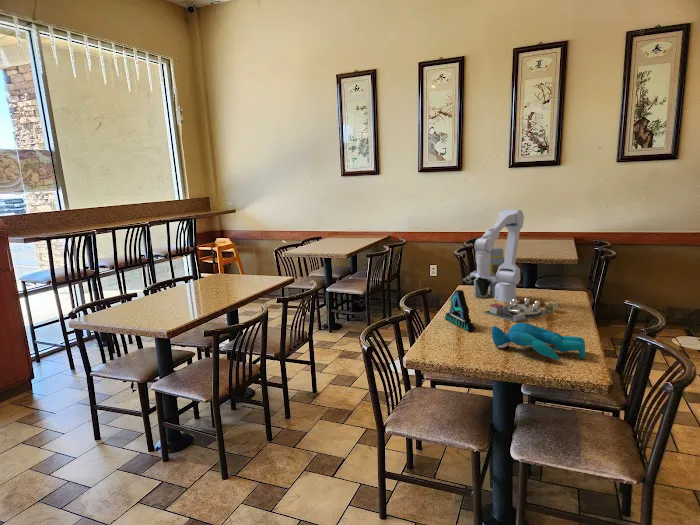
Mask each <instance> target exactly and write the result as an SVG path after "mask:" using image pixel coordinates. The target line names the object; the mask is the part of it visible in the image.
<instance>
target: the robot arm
mask: <svg viewBox="0 0 700 525" xmlns="http://www.w3.org/2000/svg"><path fill="white" fill-rule="evenodd" d="M497 215H498V216H497V220H496V222H495V223H494V225H493V226H491V227H488V228H487V230H486V231H485V232H484V233H483V234H482V236H481V237H479V238H477V239H476V240H475V241H474V246H473V247H474V248H473V249H474V250H475V255H477V264H476V271H477V273H474V272H473V271H472V272H470V274H469V275H470V277H471V278H475V279H476V278H478V280H476V283H477V285H478V287H479V290H480V294H481V295H482V296H484V295H486V294H487V290H488V287H489V288H490V283H491V282H492V281H493V282H499V283H497V284H496V286H495V297H494V299H495V300H497V301H499V302H502V303H509V304H510V302H512V299H517V285H518V284H519V283H520V281H521V268H519V266H518V265H517V264H516V262H517V254H518V246H519V239H520V233H521V230H522V228H524V227H523V225H524V221H525V219H524V218H525V215H524V212H523V211H522V210H521V209H501V210H500V211H499V213H498V214H497ZM503 228H506V229H507V230H508V232H507V237H506V238H507V239H506V245H505V253H504V258H503V264H501V265H498V269H497V271H496V273H495V274H496V277H495V276H492V275H490V251H492V249H493V247H495V242H496V241H497V239H499V237H500V234H501V233H500V232H501V231H502V230H503ZM520 302H521V301H520V300H518V299H517V304H519V303H520Z"/></svg>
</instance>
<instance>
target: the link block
mask: <svg viewBox="0 0 700 525" xmlns="http://www.w3.org/2000/svg"><path fill="white" fill-rule="evenodd" d="M544 310H546V311H549V312H553V313H552V314H554V312H555V313H558V312H559V310H560V302H556V301H553V300H550V301H549V300H548V301H545V302H544ZM557 311H558V312H557Z"/></svg>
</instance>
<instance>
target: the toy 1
mask: <svg viewBox="0 0 700 525" xmlns="http://www.w3.org/2000/svg"><path fill="white" fill-rule="evenodd" d="M474 257H475V263H476V265H477V255H476V254H475V255H474ZM504 258H505V254H504V248H502V247H500V246H493V249H492V251H490V275H492V276H495V277H496V273H495V272H493V270H494V266H500V265H502V264H503V263H504ZM473 272H474V273H477V269H476V270H473V271H472V273H473ZM468 280H469V281H468ZM476 280H478V278H475V279H473V280H472V277H470V274H469V275H468V276H466V277H464V278H463V279H462V281H463V282H464V283H467V284H470V283H473V292H472V293H473V295H474V297H475V298H476V299H478V298H477V297H488V298H489V295H490V296H491V298H495V286H496V284H497V283H499V282H493V281H492V282H491V283H490V285H489V287H488V290H487V294H486V295H484V296H482V295H481V294H480V290H479V287H478V285H477V283H476Z"/></svg>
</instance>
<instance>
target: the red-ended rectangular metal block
mask: <svg viewBox="0 0 700 525" xmlns="http://www.w3.org/2000/svg"><path fill="white" fill-rule="evenodd" d="M503 307H504V305H503V304H500V303H491V304H489V310H490V314H494V315H497V316H498V315H502V314H503Z"/></svg>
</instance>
